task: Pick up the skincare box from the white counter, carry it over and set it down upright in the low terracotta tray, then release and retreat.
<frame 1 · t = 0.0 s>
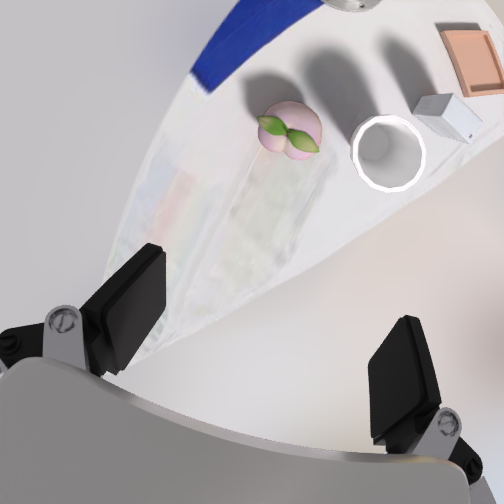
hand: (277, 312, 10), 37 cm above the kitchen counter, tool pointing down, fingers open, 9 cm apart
foam cup: (370, 141, 38), on the kitchen counter
tray: (475, 62, 25), on the kitchen counter
skincare box: (429, 115, 33), on the kitchen counter
decorative fruit: (293, 126, 40), on the kitchen counter
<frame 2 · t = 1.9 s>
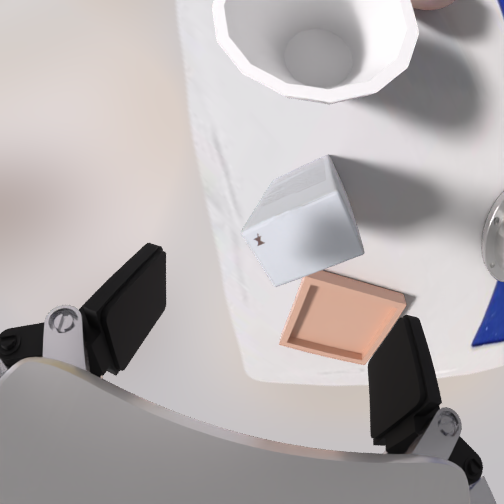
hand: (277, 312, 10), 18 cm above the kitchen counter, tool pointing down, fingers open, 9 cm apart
foam cup: (318, 59, 19), on the kitchen counter
tray: (340, 316, 31), on the kitchen counter
skincare box: (310, 185, 25), on the kitchen counter
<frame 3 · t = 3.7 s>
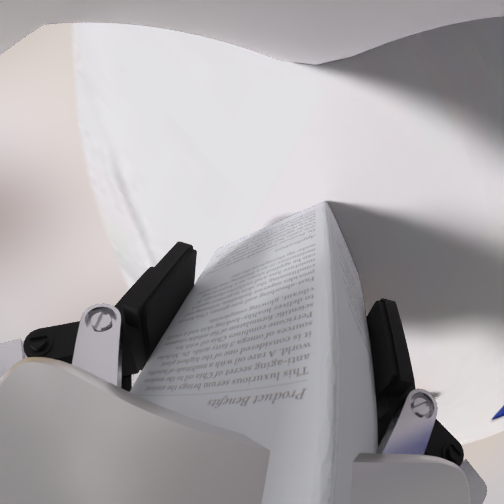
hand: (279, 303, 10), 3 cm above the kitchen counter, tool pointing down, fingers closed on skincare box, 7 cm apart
foam cup: (304, 2, 7), on the kitchen counter
skincare box: (290, 257, 13), on the kitchen counter, touching gripper
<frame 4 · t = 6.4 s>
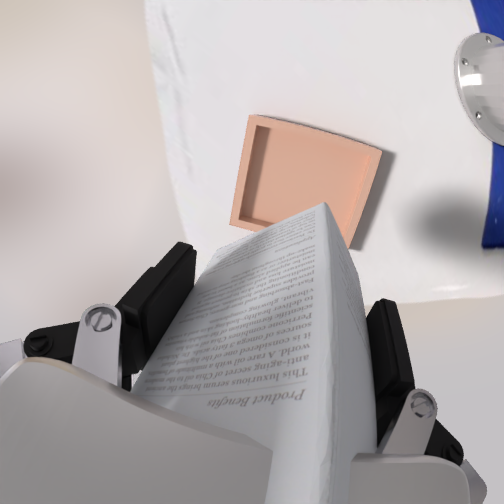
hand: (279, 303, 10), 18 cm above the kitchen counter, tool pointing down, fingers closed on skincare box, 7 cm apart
tray: (303, 182, 26), on the kitchen counter
skincare box: (290, 258, 14), point 14 cm above the kitchen counter, touching gripper
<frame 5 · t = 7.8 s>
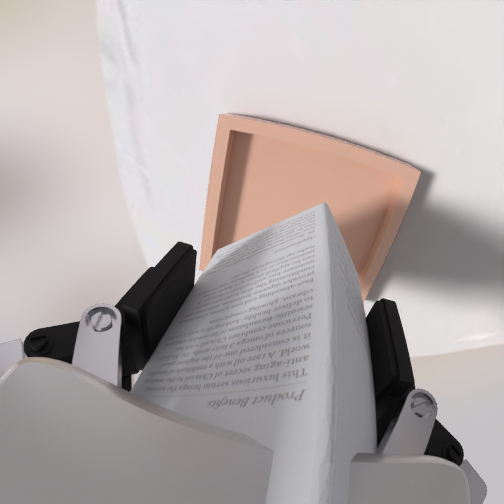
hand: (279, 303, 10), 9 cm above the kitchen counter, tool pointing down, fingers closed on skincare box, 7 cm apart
tray: (302, 213, 18), on the kitchen counter
skincare box: (290, 258, 14), point 6 cm above the kitchen counter, touching gripper
when the fingers open (5 cm above the kitchen counter, at t = 9.2 s): skincare box stays where it is, resting on tray.
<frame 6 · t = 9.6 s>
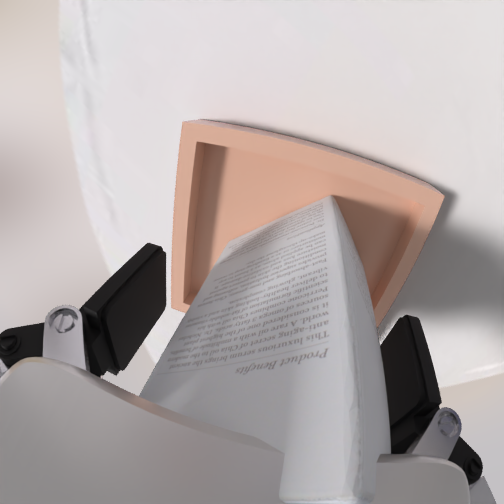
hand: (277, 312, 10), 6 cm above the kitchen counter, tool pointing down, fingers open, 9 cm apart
tray: (292, 243, 15), on the kitchen counter
skincare box: (298, 249, 14), point 1 cm above the kitchen counter, touching tray
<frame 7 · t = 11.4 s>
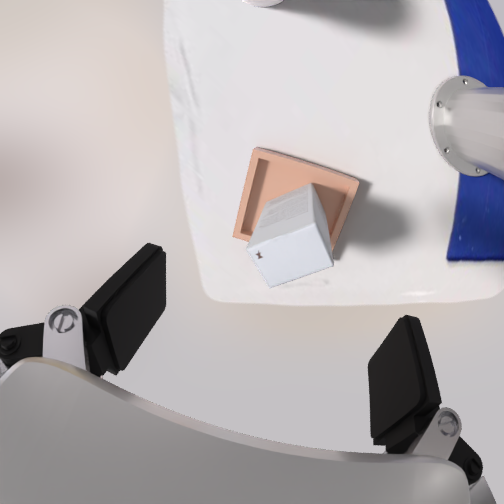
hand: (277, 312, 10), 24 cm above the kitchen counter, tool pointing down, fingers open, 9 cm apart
tray: (294, 204, 32), on the kitchen counter
skincare box: (296, 206, 32), point 1 cm above the kitchen counter, touching tray
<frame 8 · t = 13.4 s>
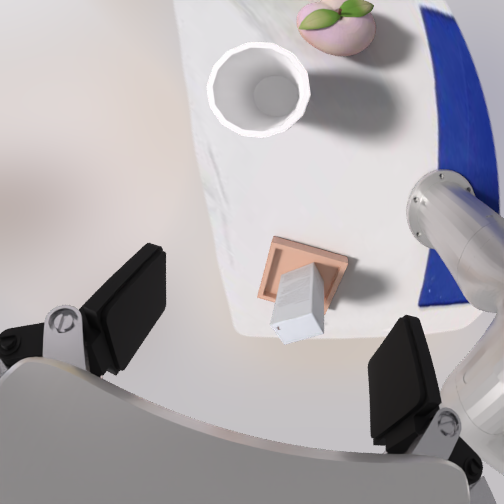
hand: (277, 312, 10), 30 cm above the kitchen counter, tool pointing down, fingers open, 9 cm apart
foam cup: (276, 96, 32), on the kitchen counter
tray: (301, 274, 45), on the kitchen counter
skincare box: (303, 277, 44), point 1 cm above the kitchen counter, touching tray
decorative fruit: (336, 35, 26), on the kitchen counter
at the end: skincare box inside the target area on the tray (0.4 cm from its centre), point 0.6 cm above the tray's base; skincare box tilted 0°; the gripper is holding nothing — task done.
